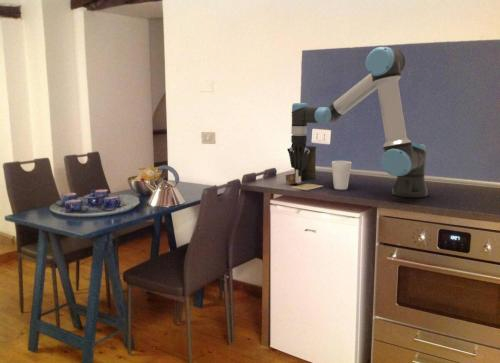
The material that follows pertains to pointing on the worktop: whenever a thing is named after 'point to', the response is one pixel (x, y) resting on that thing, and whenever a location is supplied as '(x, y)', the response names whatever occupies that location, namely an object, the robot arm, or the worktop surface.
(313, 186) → the envelope
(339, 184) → the foam cup
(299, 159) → the robot arm
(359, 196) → the worktop surface
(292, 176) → the block
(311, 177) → the container
